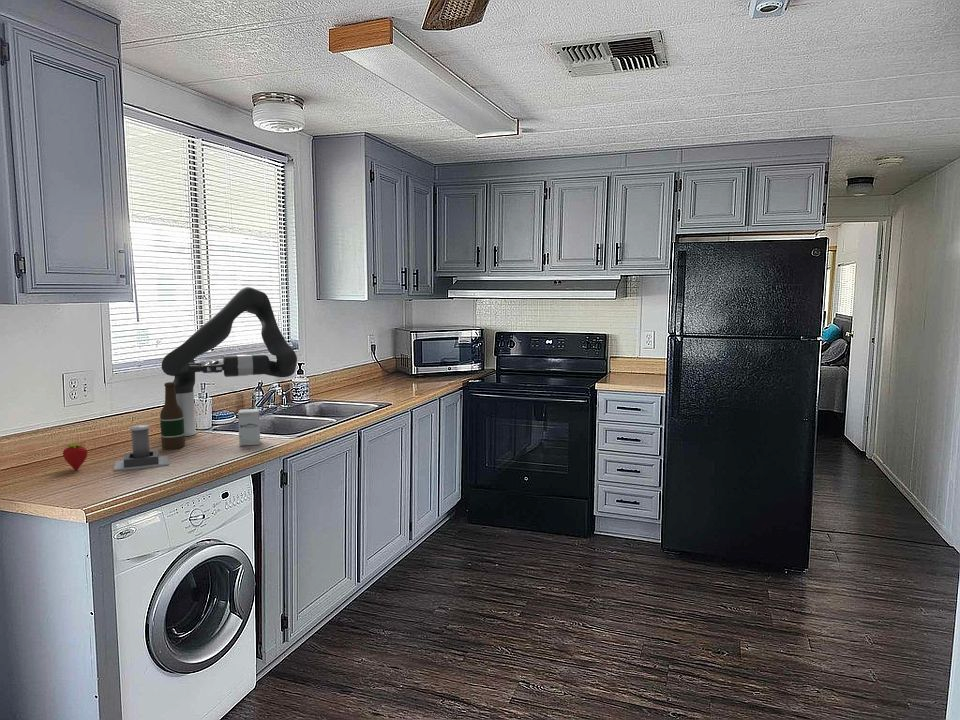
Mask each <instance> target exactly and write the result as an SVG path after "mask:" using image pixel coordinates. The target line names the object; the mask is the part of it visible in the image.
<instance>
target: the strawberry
mask: <svg viewBox="0 0 960 720" xmlns="http://www.w3.org/2000/svg"><path fill="white" fill-rule="evenodd" d="M77 440H78V438H76V439H75V442H77ZM62 456H63V458H64V460H65V462H66V463H68V465H70V467H71V468H72V469H73V470H75V469H77V470H79V469H80V467H81V466H82V465H83V464H84V462H85V460H86V459H87V456H88V449H87V448H86V445H85V444H84V443H83V442H82V443H81V442H80V443H75V444H73V443H72V444H67V445H66V448H65V449H64V450H63V451H62Z"/></svg>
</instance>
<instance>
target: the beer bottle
mask: <svg viewBox="0 0 960 720" xmlns="http://www.w3.org/2000/svg"><path fill="white" fill-rule="evenodd" d="M163 385H164V394H165V396H164V405H163V407H162V409H161V411H160V415H159V416H160V417H159V420H160V421H159V422H160V423H159V424H160V440H161V447H162V449H163V450H166V451H167V450H178V449H182V448H184V447H185V446H186V443H185V442H186V436H185V434H184V417H183V411H182V409H181V408H180V406H179V405H178V404H177V399H176V392H175V385H176V384H175V383H174V382H173V381H168V382H165V383H164V384H163Z"/></svg>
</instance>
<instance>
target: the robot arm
mask: <svg viewBox="0 0 960 720" xmlns="http://www.w3.org/2000/svg"><path fill="white" fill-rule="evenodd" d="M244 312H247V313H249V314H252V315H255V316H256V317H257V319H258V320H259V322H260V323H261V330H260V331H261V339H262V340H263V343H264V345H265V347H266V348H267V351H268V352H269V354H271V356H275V359H276V361H274V360H270V358H269V356H268V355H267V354H252V355H251V354H231V355H230V354H226V355H224V356H223V357H222V358H223V360H222V362H221V361H219V360H206V361H205V360H204V361H200V362H196V361H195V359H196V358H197V357H199V356H201V355H203V354H205V353H207V352H209V351H211V350H213V349H215V348H216V347H217V346H219V345H220V344H221V343H223V342H224V341H225V340H226V339H227V338H228V337H229V336H230V333H231V331H232V327H233V325H234V324H233V323H234V321H235V320H236V318H238V317H239V316H240V315H241V314H243V313H244ZM275 317H276V316H275V314H274V311H273V307H272V305H271V301H270V298H269V296H268V295H267V294H266V293H265V292H263V291H261V290H259V289H256V288H254V287H250V286H245V287H243V288H241V289H240V290H239V291H238V292H236V294H235V295H234V296H232V298H231V299H230V300H229V301H228V302H227V303H226V304H225V306H224V307H222V308H221V309H220V310H219V311H218V312H217V313H216V314H215V315H213V317H211V319H209V320H208V321H207V322H205V323H204V324H203V325H202V326H201V327H200V328H199V329H197V331H195V333H193V334H192V335H191V336H189V338H188V339H187V340H185V342H183V343H182V344H181V345H179V346H178V347H176V348H175V349H173V350H172V351H170V352H169V353H167V354H166V355H165V356H164V358H163V359H162V361H161V370H162V372H163V373H164V374H166V375H167V376H171V377H174V379H173V380H172V382H174V383H175V384H176V385H175V392H176V399H177V404H178V405H179V406H180V408H181V409H182V411H183V417H184V434H185V437H189V436H194V435H196V434H197V431H196V413H195V412H196V410H195V395H194V394H195V393H194V391H195V390H194V387H195V384H196V373H203V374H212V373H215V374H218V373H223V375H224V377H226V378H228V377H229V378H232V377H233V378H234V377H247V376H259V375H260V376H261V375H265V376H271V377H276V378H288V377H289V378H290V376H293V375H294V374H295V372H296V369H297V365H298V364H297V363H298V358H297V357H298V356H297V353H296V351H294V349H293V348H292V347H291V346H290V344H289V343H288V342H287V341H286V339H285V337H284V335H283V333H282V332H281V330H280V328H279V326H278V322H277V319H276V318H275Z"/></svg>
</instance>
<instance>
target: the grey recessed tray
mask: <svg viewBox="0 0 960 720" xmlns="http://www.w3.org/2000/svg"><path fill="white" fill-rule="evenodd" d="M169 465H170V463H169V455H162V456H159V450H150V456H148V457H138V458H133V452H128V453H127V452H126V453H124V456H123V460H116V461H115V462H114V466H113V468H112V469H113V470H112V471H113V472H121V471H128V470H137V469H147V468H157V467H165V466H169Z"/></svg>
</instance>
